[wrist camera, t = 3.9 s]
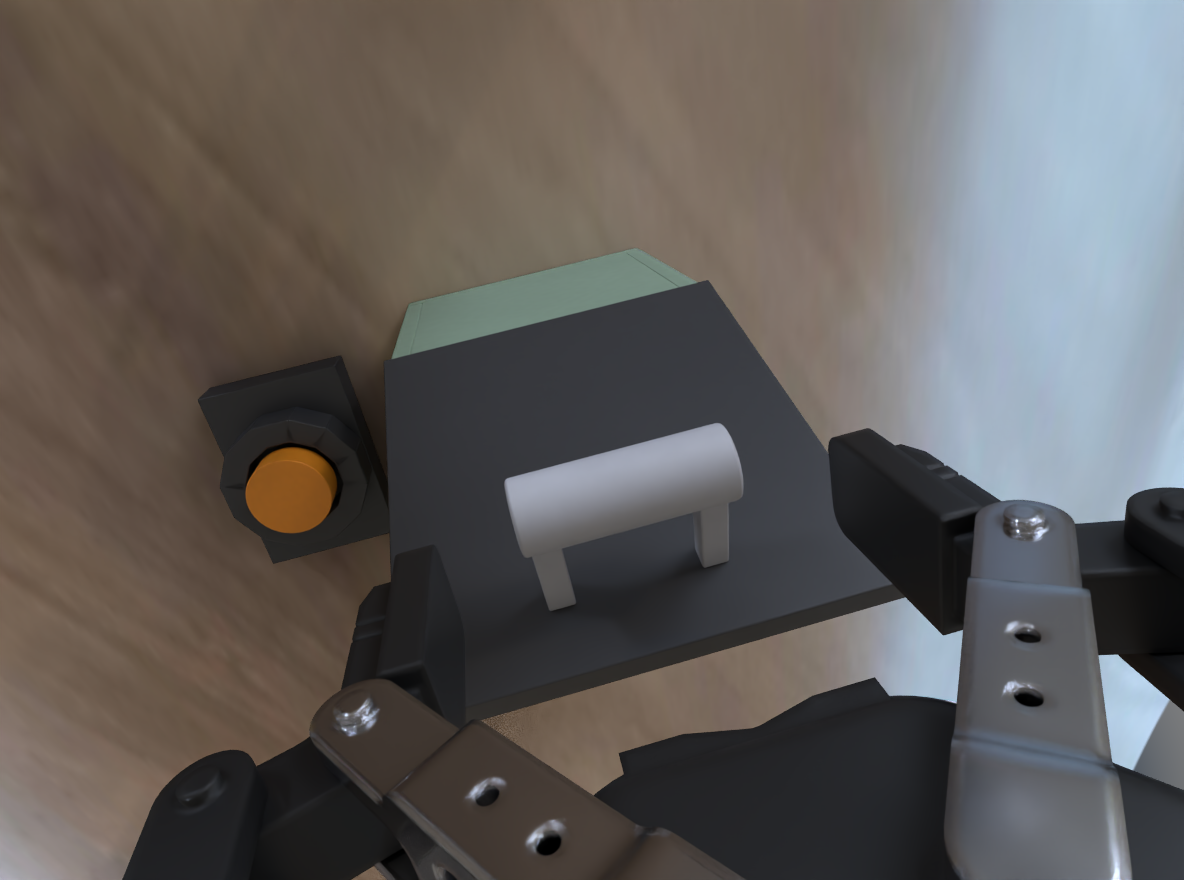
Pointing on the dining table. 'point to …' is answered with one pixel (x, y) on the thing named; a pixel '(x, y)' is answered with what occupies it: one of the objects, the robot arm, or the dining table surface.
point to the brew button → (291, 490)
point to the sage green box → (533, 299)
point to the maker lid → (614, 496)
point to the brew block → (307, 420)
